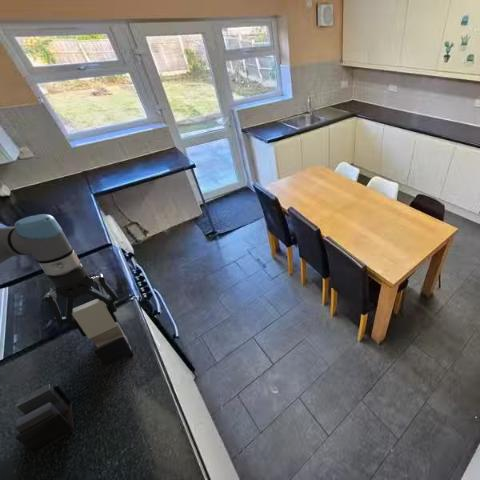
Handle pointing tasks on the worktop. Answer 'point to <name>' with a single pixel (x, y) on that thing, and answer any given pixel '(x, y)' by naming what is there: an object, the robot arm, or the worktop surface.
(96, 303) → the cream book
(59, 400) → the grey rack
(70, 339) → the worktop surface
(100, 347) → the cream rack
